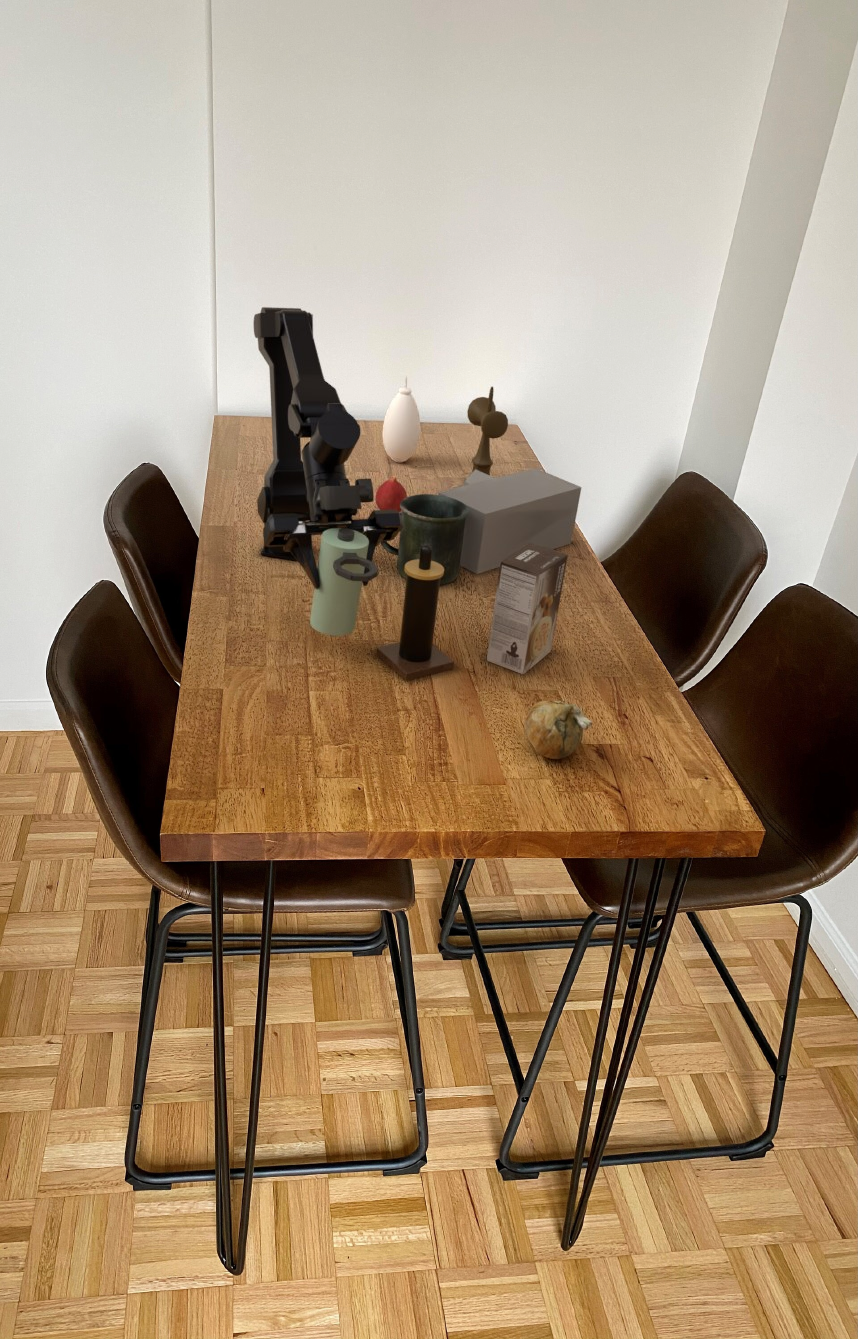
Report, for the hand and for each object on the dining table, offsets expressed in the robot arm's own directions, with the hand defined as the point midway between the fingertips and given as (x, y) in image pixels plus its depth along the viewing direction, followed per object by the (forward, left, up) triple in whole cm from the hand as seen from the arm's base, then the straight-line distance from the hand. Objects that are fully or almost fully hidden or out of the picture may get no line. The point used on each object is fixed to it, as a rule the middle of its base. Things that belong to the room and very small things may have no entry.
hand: (341, 586), depth 144 cm
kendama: (+11, +78, -11) cm, 80 cm away
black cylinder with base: (+11, +2, -11) cm, 15 cm away
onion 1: (-3, +53, -11) cm, 54 cm away
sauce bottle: (-7, +84, -11) cm, 85 cm away
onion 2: (+31, -15, -11) cm, 36 cm away
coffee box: (+25, +8, -11) cm, 29 cm away
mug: (+6, +31, -11) cm, 34 cm away
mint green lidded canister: (0, -2, -7) cm, 7 cm away
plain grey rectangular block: (+14, +51, -11) cm, 54 cm away
